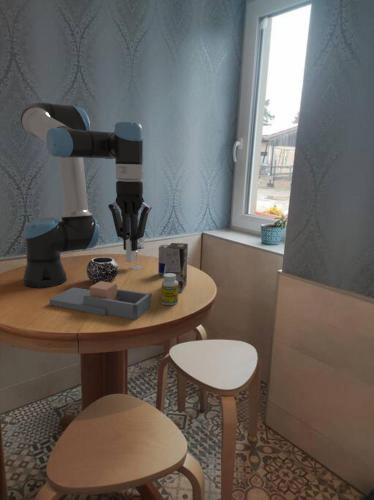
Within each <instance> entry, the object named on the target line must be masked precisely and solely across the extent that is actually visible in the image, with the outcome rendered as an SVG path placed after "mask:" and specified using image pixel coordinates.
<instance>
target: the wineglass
mask: <svg viewBox="0 0 374 500" xmlns="http://www.w3.org/2000/svg"><path fill="white" fill-rule="evenodd" d="M144 242H145V239H142V238H139V239H138V240H137V250H136V251H135V265H134V266H131V267H130V268H131V269H132V270H140V269H141V270H142V269H143V266H140V265H138V254H139V253H140V252H142V251H143V250H145V243H144Z"/></svg>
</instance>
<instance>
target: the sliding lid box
mask: <svg viewBox="0 0 374 500" xmlns="http://www.w3.org/2000/svg"><path fill="white" fill-rule="evenodd" d="M48 300H49V306H51V305H54V306H53V307H57V306H59V307H58V308H62V307H63V308H64V309H67V310H73V311H79V312H85V313H90V314H95V315H101V316H106V315H109V316H114V317H120V318H125V319H131V320H134V321H135V320H138V319H139V318H141V316H143V315H144V314H145V313H146V312H147V311H149V310H150V309H151V308H152V294H151V293H149V292H148V293H147V292H140V291H135V290H129V289H122V288H117V299H115V300H111V299H105V298H99V297H93V296H90V289H88V288H87V289H86V288H79V287H75V286H74V287H71V288H69V289H67V290H65V291H63V292H61V293H59V294H57V295H55V296H53V297H51V298H50V299H48Z"/></svg>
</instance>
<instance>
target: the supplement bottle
mask: <svg viewBox="0 0 374 500" xmlns="http://www.w3.org/2000/svg"><path fill="white" fill-rule="evenodd" d="M161 303H162V304H163V305H165V306H174V305H176V304H178V303H179V292H178V282H177V281H176V274H173V273H166V274H164V276H163V280H162V281H161Z"/></svg>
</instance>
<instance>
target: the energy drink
mask: <svg viewBox="0 0 374 500" xmlns="http://www.w3.org/2000/svg"><path fill="white" fill-rule="evenodd" d="M169 245H170V244H160V245H159V246H158V268H157V269H158V270H157V271H158V275H159V276H160V277H164V274H166V247H168V246H169Z"/></svg>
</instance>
